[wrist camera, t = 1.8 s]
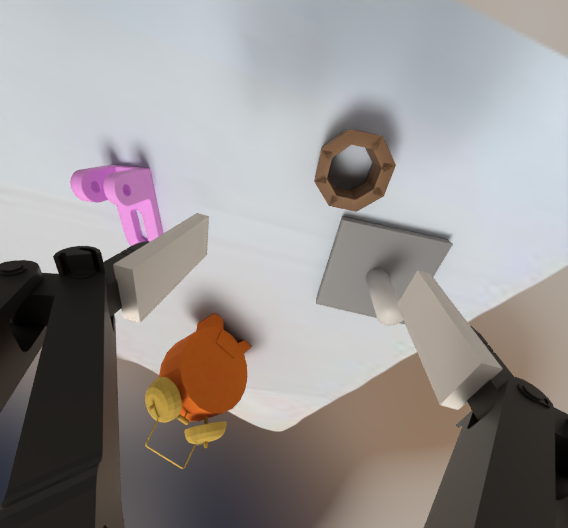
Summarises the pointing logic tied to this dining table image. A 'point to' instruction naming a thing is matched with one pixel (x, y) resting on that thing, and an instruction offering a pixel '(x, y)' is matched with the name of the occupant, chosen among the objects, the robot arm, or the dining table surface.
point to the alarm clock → (199, 381)
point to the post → (376, 268)
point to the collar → (376, 177)
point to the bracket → (122, 196)
